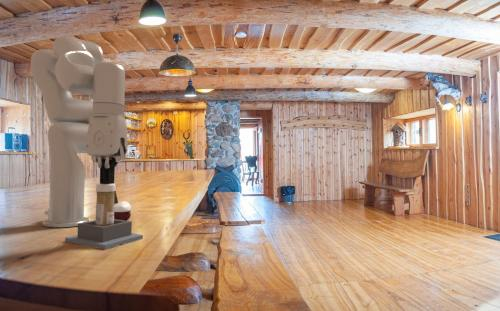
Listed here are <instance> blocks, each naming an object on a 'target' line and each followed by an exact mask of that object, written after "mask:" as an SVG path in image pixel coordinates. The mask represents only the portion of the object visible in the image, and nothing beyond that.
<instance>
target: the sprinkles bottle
mask: <svg viewBox="0 0 500 311" xmlns="http://www.w3.org/2000/svg"><path fill="white" fill-rule="evenodd" d="M95 187H96V188H95V189H96V190H95V192H96V204H95V220H96V225H98V226H109V225H113V224H114V195H115V190H116V187H117V186H116V184H115V183H114V184H100V183H97V184H96V186H95Z"/></svg>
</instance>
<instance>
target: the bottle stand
mask: <svg viewBox="0 0 500 311" xmlns="http://www.w3.org/2000/svg"><path fill="white" fill-rule="evenodd" d="M132 225H133V222H132V221H131V220H130V221H129V220H127V221H124V220H117V219H114V224H113V225H109V226H98V225H96V219H95V220H91V221H90V220H89V222H84V223H78V226H77V234H75V235H71V236H66V237H65V238H64V242H66V243H69V244H76V245H82V246H86V247H90V246H91V248H95V247H97V248H96V249H100V248H101V249H100V250H107V249H108V248H109V249H112V248H115V247H114V246H116V247H118V246H117V245H119V246H121V245H120V244H123V245H125V244H124V243H126V244H129V242H130V243H133V242H136V241H140V240H143V238H144V236H143V234H138V233H132V230H133V229H132V228H133V226H132ZM111 247H112V248H111Z"/></svg>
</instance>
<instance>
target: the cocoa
mask: <svg viewBox="0 0 500 311" xmlns="http://www.w3.org/2000/svg"><path fill="white" fill-rule="evenodd" d="M131 209H132V205H131V204H130V203H129V202H127V201H126V200H124V201H120V202H119V200H118V196H117V191H116V189H115V195H114V219H117V220H124V221H129V219H130V218H131V214H132V213H131Z"/></svg>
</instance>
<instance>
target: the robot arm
mask: <svg viewBox="0 0 500 311" xmlns="http://www.w3.org/2000/svg"><path fill="white" fill-rule="evenodd" d="M30 71H31V75H32V78H33V80H34V83H35V85H36V86H37V88H38V90H39V91H40V93H41V95H42V99H43V103H44V106H45V111H46V114H47V117H48V120H49V121H50V123H51V124H52V125H50V126H49V128H48V130H47V142H48V149H49V160H50V163H49V167H50V168H49V173H50V176H49V200H48V202H49V204H48V206H49V208H48V209H47V210H45V211H44V216H45V215H46V216H47V219H44V220H43V221H42V226H44V227H46V228H47V227H48V228H70V227H71V228H72V227H78V223H84V222H89V221H90V219H89V217H86V216H85V213H84V212H85V187H86V186H85V183H86V182H85V180H86V178H85V177H86V174H85V173H86V168H85V165H84V162H83V161H82V159H81V158H80V157H79V156H78V154H87V155H88V156H91V157H90V159H91V160H92V161H94V162H96V163H97V167H98V168H99V184H115V170H116V168H117V167H118V164H119V162H120V163H121V162H124V161H125V159H126V158H125V156H126V154H127V153H128V129H127V121H126V118H125V102H126V101H125V93H126V90H125V89H126V70H125V68H124V67H123V65H121V64H119V63H115V62H110V61H104V51H103V49H102V48H101V46H100V45H98V44H97V43H94V41H93V42H92V41H89V40H84V39H80V38H77V37H72V36H67V35H63V36H59V37H57V38H56V39H55V40H54V41H53V43H52V49H46V48H45V49H44V48H42V49H37V50H36V51H34V52H33V53H32V55H31V57H30ZM72 93H73V94H78V95H86V96H87V95H88V96H92V101H90V100H84V99H83V100H82V99H78V98H77V99H76V98H75V97H73V94H72Z"/></svg>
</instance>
